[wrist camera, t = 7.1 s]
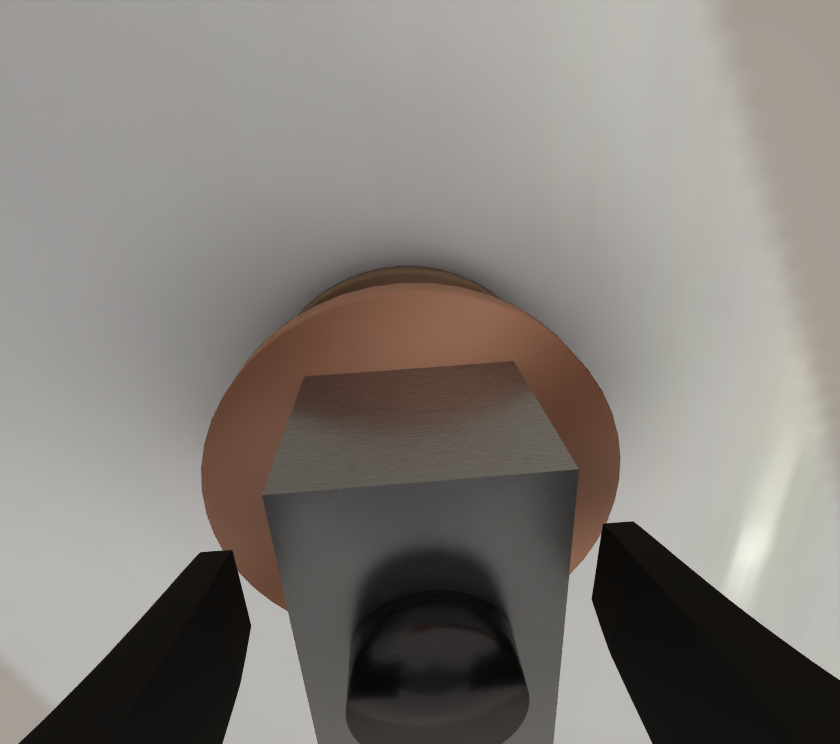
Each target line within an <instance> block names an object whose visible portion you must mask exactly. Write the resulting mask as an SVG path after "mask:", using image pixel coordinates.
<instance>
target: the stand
mask: <svg viewBox="0 0 840 744" xmlns="http://www.w3.org/2000/svg"><path fill="white" fill-rule="evenodd" d="M508 361H514V362H515V364H516V366H517V367H518V369H519V371H520V372H521V374H522V376H523V377H524V379H525V381H526V382H527V384H528V386H529V387H530V389H531V390H532V392H533V394H534V395H535V397H536V399H537V400H538V402H539V404H540V405H541V407H542V409H543V410H544V412H545V414H546V415H547V417H548V419H549V420H550V422H551V424H552V425H553V427H554V429H555V430H556V432H557V434H558V435H559V437H560V438H561V440H562V442H563V443H564V445H565V447H566V448H567V450H568V452H569V453H570V455H571V457H572V458H573V460H574V462H575V463H576V465H577V467H578V468H579V475H578V486H577V496H576V507H575V518H574V528H573V539H572V549H571V560H570V571H569V575H570V574H571V573H572V571H573V570H574V569H575V568H576V567H577V566H578V565H579V564H580V563H581V562H582V560H583V559H584V558H585V557H586V555H587V554H588V552H589V551H590V550H591V548H592V547H593V545H594V544H595V543H596V541H597V539H598V537H599V535H600V534H601V532H602V527H603V524H605V523H606V522H607V520H608V517H609V514H610V512H611V509H612V506H613V504H614V501H615V496H616V491H617V487H618V482H619V470H620V450H619V440H618V433H617V430H616V426H615V422H614V418H613V415H612V412H611V409H610V407H609V405H608V403H607V400H606V398H605V396H604V394H603V392H602V390H601V388H600V387H599V385H598V384H597V382H596V381H595V379H594V378H593V376H592V375H591V373H590V372H589V370H588V369H587V368H586V367H585V366H584V365H583V364H582V362H581V361H580V360H579V359H578V358H577V357H576V356H575V355H574V354H573V353H572V351H571V350H570V349H569V348H568V347H567V346H566V345H565V344H564V343H563V342H562V341H561V339H560V338H559V337H558V336H557V335H556V334H555V333H553V332H552V331H551V330H550V329H548V328H547V327H546V326H545V325H544V324H542V323H541V322H540V321H539V320H537V319H536V318H534V317H533V316H531V315H529V314H528V313H526V312H524V311H523V310H521V309H519V308H518V307H516V306H514V305H512V304H510V303H507V302H505V301H503V300H500V299H499V298H498V297H497V296H495V295H494V294H493V293H492V292H490V291H489V290H487V289H486V288H484V287H482V286H480V285H479V284H477V283H475V282H474V281H471V280H469V279H467V278H464V277H462V276H459V275H457V274H454V273H450V272H446V271H443V270H439V269H433V268H425V267H391V268H383V269H377V270H373V271H370V272H366V273H362V274H359V275H356V276H354V277H352V278H349V279H347V280H344V281H342V282H340V283H338V284H337V285H335V286H333V287H331V288H330V289H328V290H326V291H325V292H323V293H322V294H321V295H319V296H318V297H317V298H316V299H314V300H313V301H312V302H311V303H309V304H308V305H307V307H306V308H305V309H304V310H303V311H302V312H301V313H300V314H299V315H298V316H297V317H295V318H293V319H292V320H290V321H289V322H288V323H286V324H285V325H284V326H283V327H281V328H280V329H279V330H277V331H276V332H275V333H274V334H272V335H271V336H270V337H269V338H268V339H267V340H266V341H265V342H264V343H263V344H262V345H261V346H260V347H259V348H258V349H257V350H256V351H255V352H254V353H253V354H252V355H251V357H250V358H249V359H248V361H247V362H246V364H245V365H244V367H243V368H242V369H241V371H240V372H239V374H238V375H237V376H236V378H235V379H234V381H233V383H232V384H231V386H230V387H229V389H228V390H227V392H226V393H225V395H224V396H223V398H222V400H221V402H220V404H219V406H218V408H217V410H216V412H215V414H214V416H213V418H212V421H211V424H210V427H209V431H208V434H207V437H206V440H205V444H204V451H203V459H202V466H201V473H202V493H203V498H204V503H205V508H206V513H207V516H208V519H209V521H210V524H211V527H212V529H213V532H214V535H215V537H216V538H217V540H218V542H219V544H220V546H221V547H222V549H223V551H226V550H233V554H234V558H235V562H236V566H237V570H238V572H239V573H240V574H241V575H242V576H243V577H244V578H245V579H246V580H247V581H248V582H249V583H250V584H251V585H252V586H253V587H254V588H255V589H257V590H258V591H259V592H260V593H262V594H263V595H264V596H265V597H267V598H268V599H269V600H271V601H272V602H273V603H275V604H277V605H278V606H280V607H282V608H283V609H285V610H287V611H288V609H287V605H286V600H285V596H284V591H283V587H282V582H281V578H280V574H279V569H278V565H277V560H276V556H275V551H274V547H273V543H272V538H271V534H270V529H269V525H268V521H267V516H266V512H265V507H264V503H263V498H262V493H263V491H264V488H265V485H266V482H267V479H268V476H269V474H270V471H271V468H272V465H273V462H274V460H275V457H276V454H277V451H278V448H279V446H280V443H281V440H282V437H283V434H284V432H285V429H286V426H287V423H288V420H289V418H290V415H291V412H292V409H293V406H294V403H295V401H296V398H297V395H298V392H299V389H300V387H301V384H302V381H303V378H304V376H318V375H331V374H345V373H358V372H372V371H386V370H399V369H413V368H426V367H440V366H453V365H467V364H481V363H494V362H508Z"/></svg>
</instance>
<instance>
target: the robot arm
mask: <svg viewBox="0 0 840 744" xmlns="http://www.w3.org/2000/svg"><path fill="white" fill-rule="evenodd" d="M592 602H593V605H594V608H595V611H596V614H597V617H598V620H599V623H600V626H601V629H602V632H603V635H604V637H605V640H606V643H607V646H608V649H609V651H610V654H611V656H612V658H613V660H614V663H615V665H616V667H617V669H618V671H619V673H620V676H621V678H622V680H623V682H624V684H625V686H626V688H627V691H628V693H629V695H630V697H631V699H632V701H633V703H634V705H635V708H636V710H637V712H638V714H639V716H640V718H641V720H642V722H643V724H644V727H645V729H646V731H647V733H648V735H649V737H650V739H651V741H652V743H653V744H840V680H839V679H837V678H836V677H834V676H833V675H831V674H830V673H828V672H827V671H825V670H824V669H822V668H821V667H820V666H818V665H817V664H815V663H814V662H812V661H811V660H809V659H808V658H807V657H805V656H804V655H802V654H801V653H800V652H798V651H797V650H796V649H794V648H793V647H791V646H790V645H789V644H787V643H786V642H785V641H783V640H782V639H780V638H779V637H778V636H776V635H775V634H774V633H772V632H771V631H769V630H768V629H767V628H765V627H764V626H763V625H761V624H760V623H759V622H757V621H756V620H755V619H753V618H752V617H751V616H750V615H748V614H747V613H746V612H744V611H743V610H742V609H740V608H739V607H738V606H737V605H735V604H734V603H733V602H731V601H730V600H729V599H728V598H726V597H725V596H724V595H723V594H721V593H720V592H719V591H718V590H716V589H715V588H714V587H713V586H711V585H710V584H709V583H708V582H706V581H705V580H704V579H703V578H701V577H700V576H699V575H698V574H697V573H695V572H694V571H693V570H692V569H690V568H689V567H688V566H687V565H686V564H684V563H683V562H682V561H681V560H680V559H678V558H677V557H676V556H675V555H674V554H672V553H671V552H670V551H669V550H668V549H666V548H665V547H664V546H663V545H662V544H660V543H659V542H658V541H657V540H656V539H654V538H653V537H652V536H651V535H650V534H648V533H647V532H646V531H645V530H643V529H642V528H641V527H640V526H638V525H637V524H636V523H635V522H619V523H605V524H603V527H602V533H601V540H600V547H599V554H598V560H597V567H596V574H595V581H594V587H593V594H592ZM250 629H251V623H250V619H249V615H248V611H247V607H246V603H245V599H244V595H243V591H242V587H241V583H240V579H239V574H238V570H237V566H236V562H235V558H234V554H233V550H226V551H212V552H200V553H199V554H198V555H197V556H196V557H195V558H194V560H193V561H192V562H191V563H190V564H189V565H188V566H187V567H186V568H185V569H184V571H183V572H182V573H181V574H180V575H179V576H178V577H177V578H176V580H175V581H174V582H173V583H172V584H171V585H170V586H169V588H168V589H167V590H166V591H165V592H164V593H163V594H162V595H161V597H160V598H159V599H158V600H157V601H156V602H155V603H154V604H153V606H152V607H151V608H150V609H149V610H148V611H147V612H146V613H145V615H144V616H143V617H142V618H141V619H140V620H139V621H138V622H137V623H136V624H135V626H134V627H133V628H132V629H131V630H130V631H129V632H128V633H127V634H126V635H125V636H124V637H123V639H122V640H121V641H120V642H119V643H118V644H117V645H116V646H115V647H114V648H113V649H112V650H111V652H110V653H109V654H108V655H107V656H106V657H105V658H104V659H103V660H102V661H101V662H100V663H99V664H98V665H97V666H96V667H95V668H94V670H93V671H92V672H91V673H90V674H89V675H88V676H87V677H86V678H85V679H84V680H83V681H82V682H81V683H80V684H79V685H78V686H77V687H76V688H75V689H74V690H73V691H72V692H71V693H70V694H69V695H68V696H67V697H66V698H65V699H64V700H63V701H62V702H61V703H60V704H59V705H58V706H57V707H56V708H55V709H54V710H53V711H52V712H51V713H50V714H49V715H48V716H47V717H46V718H45V719H44V720H43V721H42V722H41V723H40V724H39V725H38V726H37V727H36V728H35V729H33V730H32V731H31V732H30V733H29V734H28V735H27V736H26V737H25V738H24V739H23V740H22V741H21V742H20V743H19V744H222V743H223V740H224V737H225V733H226V730H227V727H228V723H229V720H230V717H231V713H232V710H233V707H234V703H235V700H236V697H237V693H238V690H239V686H240V683H241V678H242V673H243V667H244V662H245V657H246V652H247V646H248V641H249V635H250Z"/></svg>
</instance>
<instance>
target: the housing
mask: <svg viewBox="0 0 840 744" xmlns="http://www.w3.org/2000/svg"><path fill="white" fill-rule="evenodd" d="M578 475H579V468H578V467H577V465H576V463H575V462H574V460H573V458H572V457H571V455H570V453H569V452H568V450H567V448H566V447H565V445H564V443H563V442H562V440H561V438H560V437H559V435H558V434H557V432H556V430H555V429H554V427H553V425H552V424H551V422H550V420H549V419H548V417H547V415H546V414H545V412H544V410H543V409H542V407H541V405H540V404H539V402H538V400H537V399H536V397H535V395H534V394H533V392H532V390H531V389H530V387H529V386H528V384H527V382H526V381H525V379H524V377H523V376H522V374H521V372H520V371H519V369H518V367H517V366H516V364H515V362H514V361H508V362H494V363H481V364H467V365H453V366H440V367H426V368H413V369H399V370H386V371H372V372H358V373H345V374H331V375H318V376H304V378H303V381H302V384H301V387H300V389H299V392H298V395H297V398H296V401H295V403H294V406H293V409H292V412H291V415H290V418H289V420H288V423H287V426H286V429H285V432H284V434H283V437H282V440H281V443H280V446H279V448H278V451H277V454H276V457H275V460H274V462H273V465H272V468H271V471H270V474H269V476H268V479H267V482H266V485H265V488H264V491H263V493H262V498H263V503H264V507H265V512H266V516H267V521H268V525H269V529H270V534H271V538H272V543H273V547H274V551H275V556H276V560H277V565H278V569H279V574H280V578H281V582H282V587H283V591H284V596H285V600H286V605H287V609H288V613H289V618H290V622H291V627H292V631H293V635H294V640H295V644H296V649H297V653H298V658H299V662H300V666H301V671H302V675H303V680H304V684H305V689H306V693H307V697H308V702H309V706H310V711H311V715H312V719H313V724H314V728H315V733H316V737H317V742H318V744H553V740H554V730H555V719H556V708H557V698H558V687H559V677H560V666H561V655H562V645H563V634H564V624H565V613H566V602H567V592H568V581H569V571H570V560H571V549H572V539H573V528H574V518H575V507H576V496H577V486H578Z"/></svg>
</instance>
